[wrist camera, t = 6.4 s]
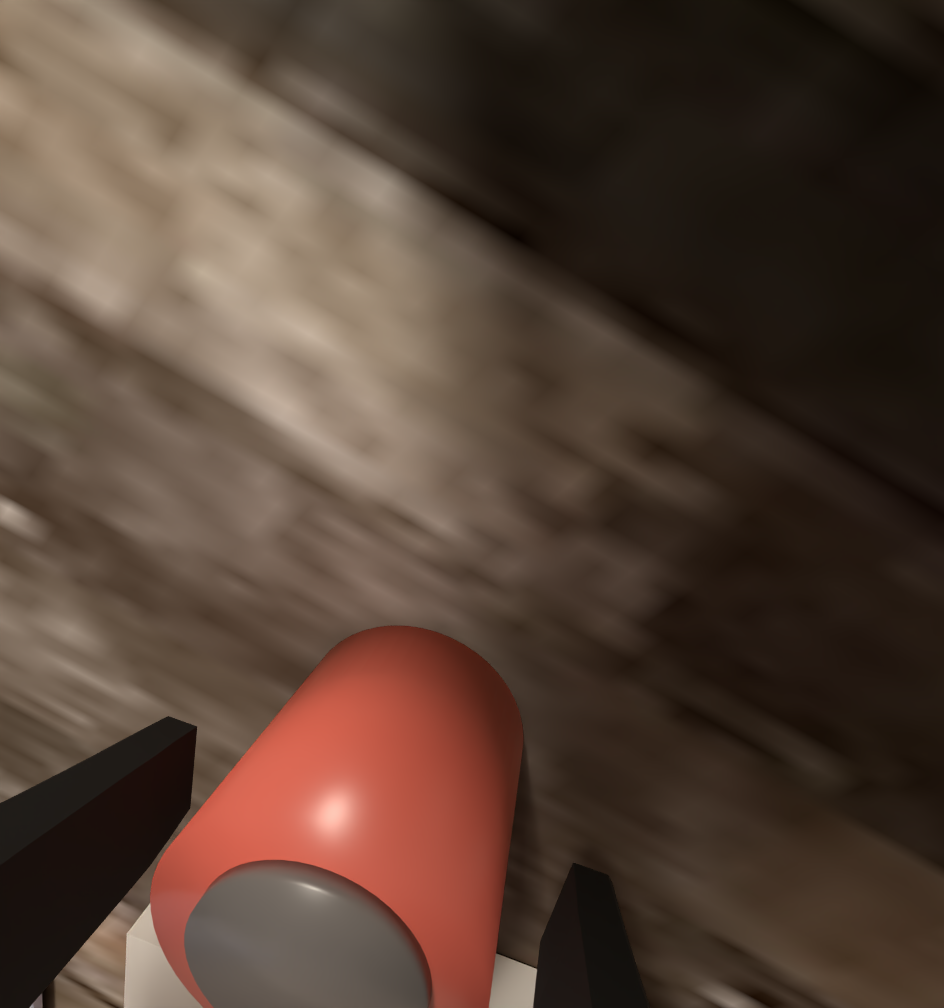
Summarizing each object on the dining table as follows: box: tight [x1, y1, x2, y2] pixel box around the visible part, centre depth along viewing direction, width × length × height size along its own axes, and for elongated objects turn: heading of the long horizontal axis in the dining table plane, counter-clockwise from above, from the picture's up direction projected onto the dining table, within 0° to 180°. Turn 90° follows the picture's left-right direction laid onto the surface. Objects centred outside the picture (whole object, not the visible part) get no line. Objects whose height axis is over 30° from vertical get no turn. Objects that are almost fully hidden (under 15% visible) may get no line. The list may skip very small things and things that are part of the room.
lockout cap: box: [150, 626, 524, 1008], centre depth 10 cm, size 5×5×5 cm
